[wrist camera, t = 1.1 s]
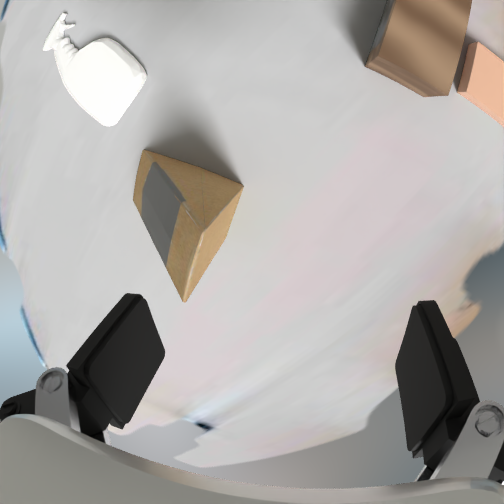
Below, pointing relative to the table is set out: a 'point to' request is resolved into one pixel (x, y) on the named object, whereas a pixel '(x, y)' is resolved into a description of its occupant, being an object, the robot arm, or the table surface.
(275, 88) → the table surface
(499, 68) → the peach flat block
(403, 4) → the wooden bridge block
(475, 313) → the table surface
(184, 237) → the sandwich container
